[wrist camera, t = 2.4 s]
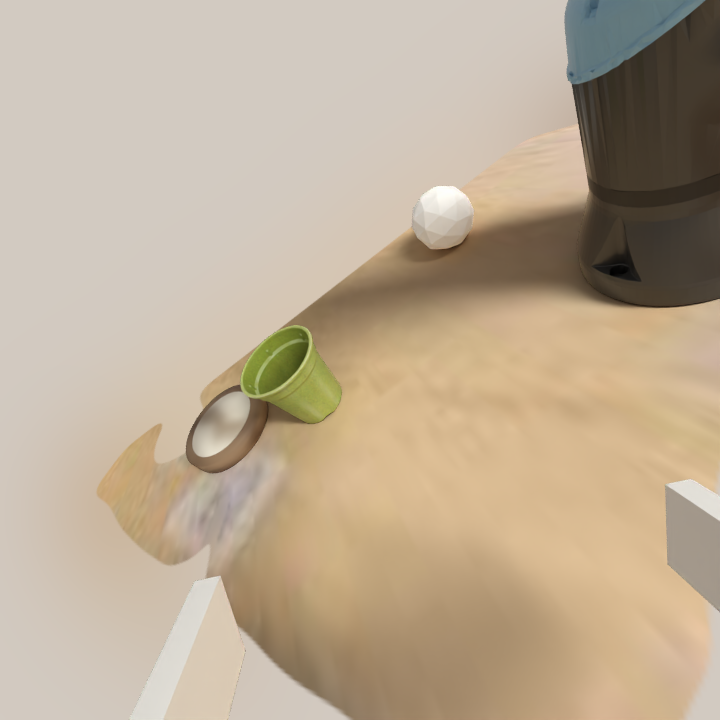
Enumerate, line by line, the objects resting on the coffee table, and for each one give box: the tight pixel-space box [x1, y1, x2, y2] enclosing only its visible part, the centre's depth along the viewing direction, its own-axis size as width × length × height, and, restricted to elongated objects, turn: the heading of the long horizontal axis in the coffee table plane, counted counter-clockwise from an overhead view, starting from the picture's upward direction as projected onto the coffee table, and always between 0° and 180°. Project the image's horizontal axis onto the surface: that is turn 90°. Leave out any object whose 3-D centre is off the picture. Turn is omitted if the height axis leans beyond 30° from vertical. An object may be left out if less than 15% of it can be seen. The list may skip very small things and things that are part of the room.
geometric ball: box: [412, 186, 474, 249], centre depth 52 cm, size 8×8×8 cm
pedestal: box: [186, 385, 268, 473], centre depth 53 cm, size 12×12×2 cm
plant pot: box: [240, 325, 342, 424], centre depth 45 cm, size 9×9×9 cm
